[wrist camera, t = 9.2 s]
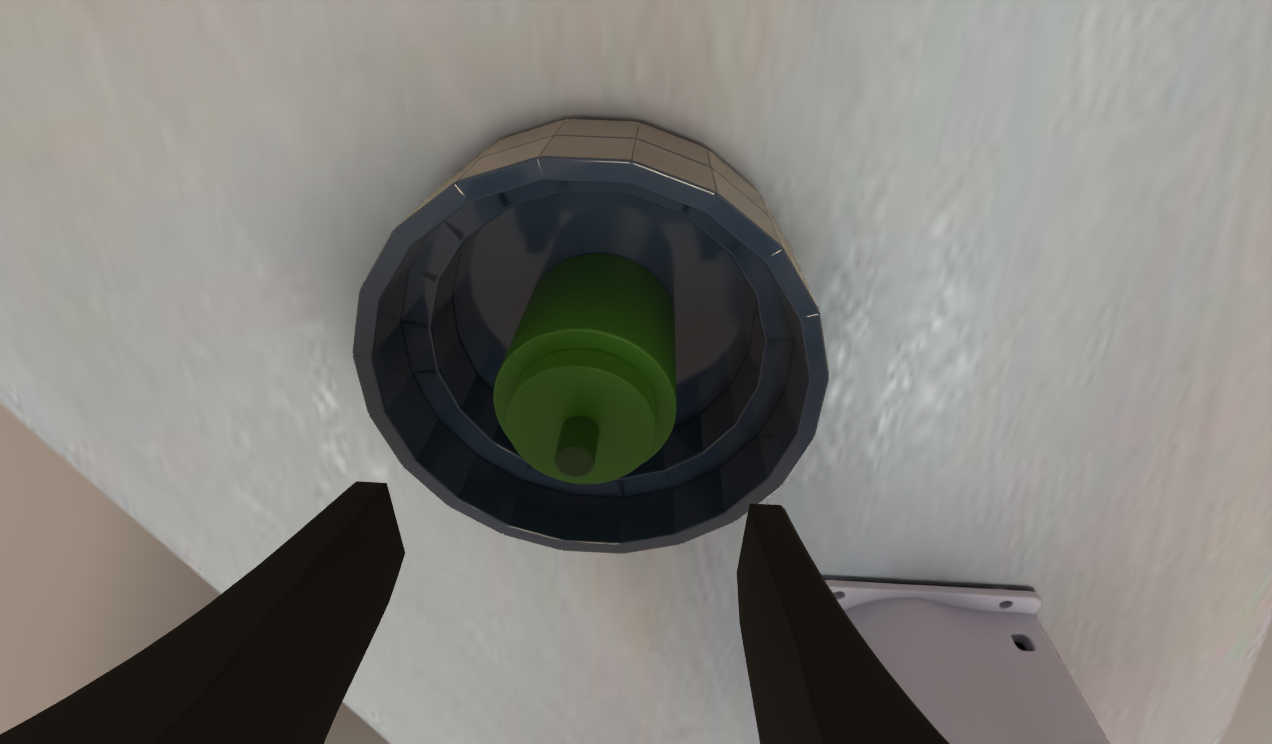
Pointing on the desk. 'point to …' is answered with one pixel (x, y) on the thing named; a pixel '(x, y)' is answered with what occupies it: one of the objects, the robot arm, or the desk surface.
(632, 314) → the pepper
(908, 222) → the desk surface
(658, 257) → the bowl
